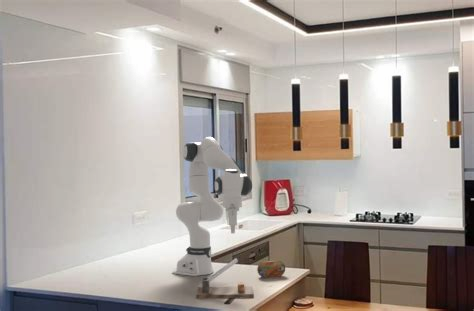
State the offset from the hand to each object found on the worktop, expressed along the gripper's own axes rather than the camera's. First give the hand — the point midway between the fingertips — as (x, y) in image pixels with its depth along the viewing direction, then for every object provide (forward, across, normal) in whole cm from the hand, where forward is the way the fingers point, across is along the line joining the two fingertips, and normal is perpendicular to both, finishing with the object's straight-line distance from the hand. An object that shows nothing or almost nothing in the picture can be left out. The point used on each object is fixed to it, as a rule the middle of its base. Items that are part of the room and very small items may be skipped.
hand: (232, 233), depth 252 cm
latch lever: (+18, -1, +6) cm, 19 cm away
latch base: (+28, 0, +4) cm, 29 cm away
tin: (+28, +32, -20) cm, 47 cm away
